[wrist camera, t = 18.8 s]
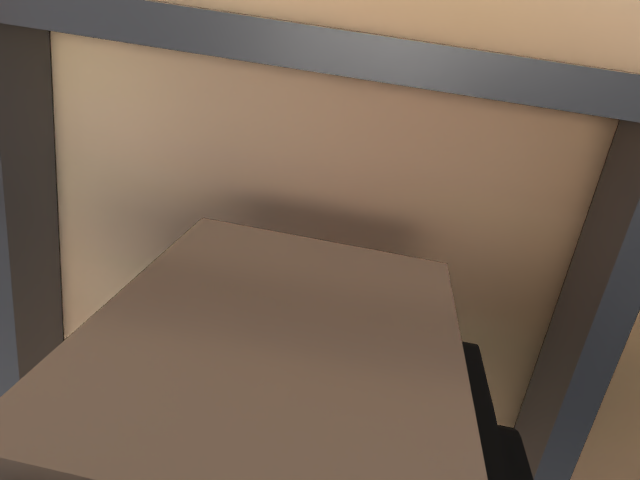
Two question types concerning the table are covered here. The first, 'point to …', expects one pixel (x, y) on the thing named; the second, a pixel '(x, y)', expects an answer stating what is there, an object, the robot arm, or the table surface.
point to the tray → (355, 62)
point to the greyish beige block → (255, 371)
